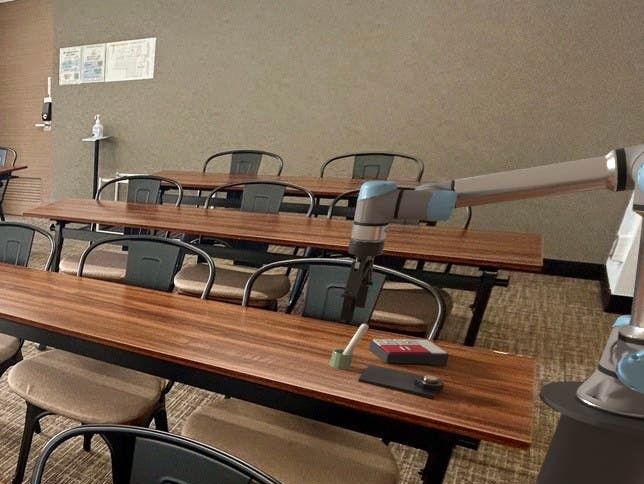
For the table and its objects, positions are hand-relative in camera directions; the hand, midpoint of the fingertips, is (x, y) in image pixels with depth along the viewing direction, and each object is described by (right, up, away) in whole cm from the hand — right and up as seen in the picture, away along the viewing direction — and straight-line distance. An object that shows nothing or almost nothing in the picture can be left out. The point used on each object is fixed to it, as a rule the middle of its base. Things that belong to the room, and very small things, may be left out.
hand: (352, 313), depth 163 cm
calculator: (+23, -13, +9) cm, 28 cm away
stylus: (+1, -15, +6) cm, 16 cm away
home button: (+13, -19, -10) cm, 25 cm away
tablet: (+9, -19, -5) cm, 22 cm away
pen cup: (+1, -16, +6) cm, 17 cm away
